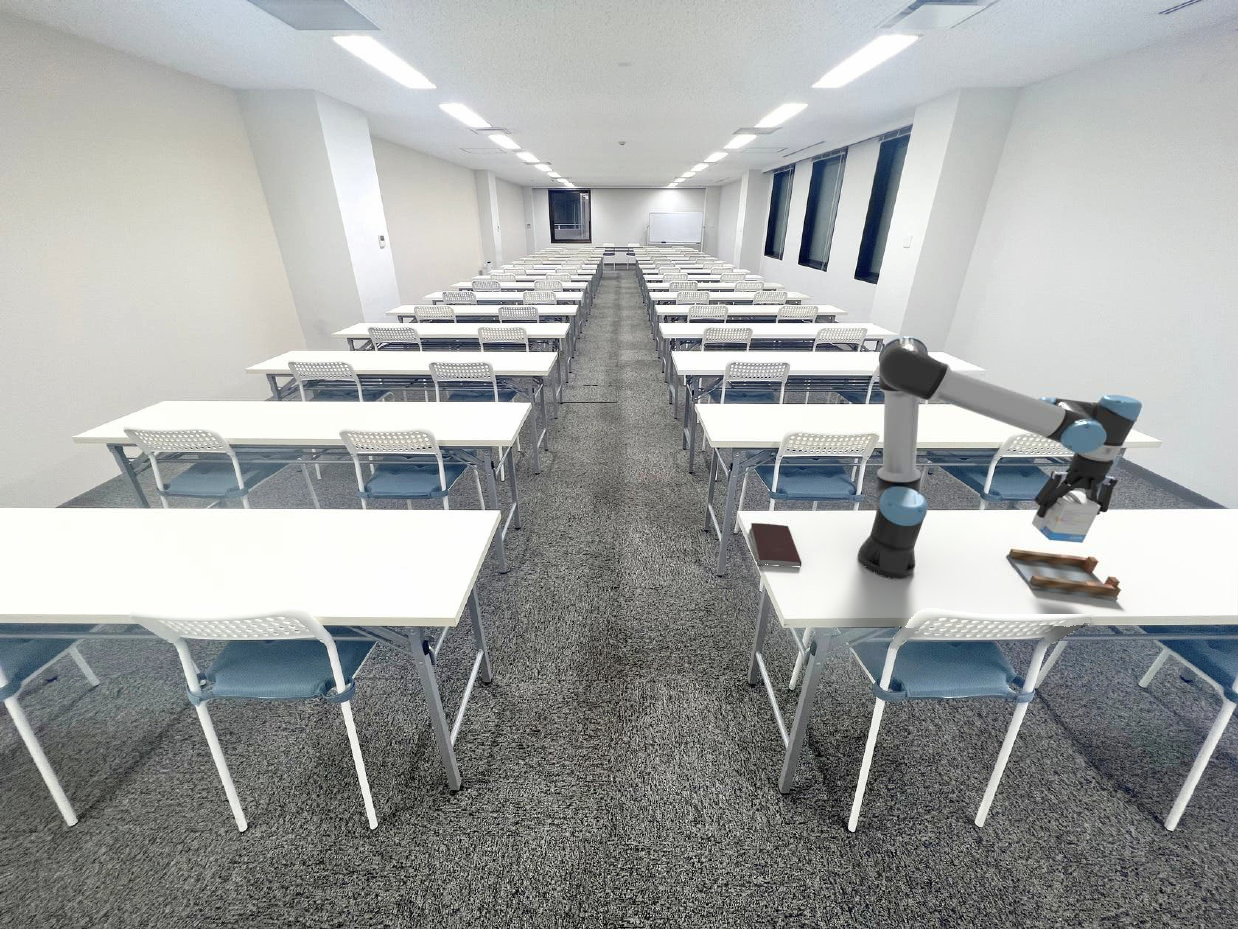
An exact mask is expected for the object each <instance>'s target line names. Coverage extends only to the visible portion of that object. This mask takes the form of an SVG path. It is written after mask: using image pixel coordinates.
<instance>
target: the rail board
mask: <svg viewBox="0 0 1238 929" xmlns="http://www.w3.org/2000/svg"><path fill="white" fill-rule="evenodd" d="M1005 557H1006V558H1007V561H1009V563H1010V564H1011V565H1012V566H1013V568H1014V570H1015V571H1016V572H1017V573H1018V574H1019V576H1021V578H1022V579H1023V580H1024V582H1025V583H1026V584H1027V585H1028V588H1030V589H1031V591H1032V590H1033V591H1040V592H1049V593H1056V594H1061V595H1069V596H1077V597H1083V598H1090V597H1091V599H1098V600H1099V599H1100V600H1105V599H1107V600H1106V601H1112V600H1117V601H1118V599H1119V598H1118V596H1119V594H1120V593H1121V591H1122V589H1121V588H1120V587H1119V584H1120V582H1121V581H1120V580H1119V579H1117V578H1116V577H1115V576H1109V575H1108V577H1107V578H1106V580H1105V581H1104V582H1102V580H1101V579H1100V578H1099V577H1098V576H1096V574H1095V573H1093V572H1094V571H1095V568H1096V566H1097V565H1098V563H1099V560H1098V559H1097V558H1096V557H1094V556H1087V557H1084V556H1077V555H1069V554H1062V553H1059V554H1058V553H1049V552H1041V551H1040V552H1039V551H1032V550H1026V549H1025V550H1023V549H1017V548H1011V549H1010V551H1009V552H1008V554H1006V556H1005Z"/></svg>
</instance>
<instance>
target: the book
mask: <svg viewBox="0 0 1238 929" xmlns="http://www.w3.org/2000/svg"><path fill="white" fill-rule="evenodd" d="M749 533H750V537H751V540H752V544H753V547H754V552H755V555H756V559H757V560H756V561H757V565H758V564H759V566H758V567H762V566H764V565H765V564H766V565H767V564H768V565H779V566H778V567H780V566H800V568H801V567H802V559H801V558H800V554H799V551H798V549H797V546H796V544H795V541H794V539H793V536H792V533H791V530H790V528H789V526H788V525H784V524H783V525H782V524H774V523H773V524H772V523H763V522H762V523H761V522H751V524H750V529H749Z"/></svg>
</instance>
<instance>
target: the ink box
mask: <svg viewBox="0 0 1238 929" xmlns="http://www.w3.org/2000/svg"><path fill="white" fill-rule="evenodd" d="M1039 507H1040V506H1039V505H1038V508H1037V510H1036V512H1035V515H1034V517H1033V519H1032V521H1031V525H1032V526H1033V527H1035V528H1036V529H1037V530H1038V532H1040V534H1042V535H1043V536H1044V537H1045V538H1047V539H1048V541H1057V542H1067V543H1069V542H1070V543H1083V542H1084V540H1085V538H1086V536H1087V534H1088V532H1089V531H1090V528H1091V527H1092V525H1093V523H1094V520H1095V519H1096V516H1098V515H1097V513H1098V511H1099V509H1100V507H1101V506H1100V505H1098V504H1097V503H1096V502H1094V501H1091V500H1090V499H1088V498H1087V497H1086V494H1085V493H1084V492H1083V491H1078V490H1073V491H1069V492H1068V493H1067V494H1066V495H1065V496H1063V497H1062V498H1058V500H1057V502H1056V503H1055V504H1054V505H1053V506H1051V507H1050V508H1051V509H1053V510H1052V512H1051V514H1050V516H1049V518H1048V521H1047V523H1046V525H1045V527H1044V529H1043V530H1042V529H1039V528H1038V527H1037V526H1036V525H1035V522H1036V520H1037V518H1038V515H1037V512H1038V509H1039Z"/></svg>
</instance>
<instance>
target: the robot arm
mask: <svg viewBox="0 0 1238 929" xmlns="http://www.w3.org/2000/svg"><path fill="white" fill-rule="evenodd" d="M878 363H879V368H878V369H879V372H878V373H879V374H878V375H879V376H878V377H879V378H878V388H879V390H880V391H881V392H883V393H884V409H883V410H884V411H883V450H882V467H881V468H879V469H878V470H877V472H876V486H875V492H876V508H875V509H876V510H875V512H876V513H875V517H874V520H873V524H872V528H871V531H870V535H869V536H868V537H867V538H866V539H865V541H864V542H863V543H862V545H861V546H860V547H859V549H858V554H857V558H859V559H858V561H859V560H860V561H859V562H860V564H861V563H862V564H863V565H864V566H866V567H865V569H867V570H868V569H869V570H868V571H870V570H871V571H870V572H871V573H874V572H875V573H874V574H876V573H877V574H876V575H878V576H881V575H882V576H881V577H884V578H888V577H890V578H889V579H894V578H895V579H896V580H897V579H898V580H901V579H906V578H909V577H910V576H912V575H913V573H914V570H915V568H916V556H915V545H916V543H917V541H918V537H919V534H920V531H921V529H922V525H923V523H924V520H925V518H926V516H927V513H928V501H927V498H926V497H924V495H922V494H921V485H922V484H921V483H922V473H921V471H920V470H918V468H916V463H917V447H918V446H917V445H918V444H917V443H918V427H919V426H918V425H919V410H920V409H919V407H920V399H923V400H924V401H930V400H933V399H934V400H938V401H941V402H943V403H947V404H950V405H952V406H956V407H958V408H960V409H963V410H966V411H970V412H972V413H974V414H978V415H981V416H984V417H986V418H989V419H992V420H994V421H998V422H1000V423H1003V424H1007V425H1008V426H1011V427H1015V428H1017V429H1021V430H1023V431H1025V432H1028V433H1032V434H1035V435H1037V436H1041V437H1043V438H1045V439H1047V440H1051V441H1053V442H1056V443H1059V444H1061V445H1062V446H1063V448H1065V449H1067V450H1068V451H1070V452H1073V453H1074V454H1073V456H1072V458H1071V460H1070V462H1069V467H1068V469H1066V470H1064V471H1059V472H1058V471H1057V470H1052V471H1051V473H1050V476H1049V479H1048V480H1047V481H1046V483H1045V484H1044V485H1043V486H1042V488H1041V490H1040V491H1039V492H1038V493H1037V495H1035V497H1034V498H1033V501H1034V502H1035V503H1036V504H1037V505H1038V508H1039V509H1038V508H1037V510H1038V512H1037V511H1036V512H1037V515H1038V518H1037V520H1036V522H1035V525H1036V526H1037V527H1038V528H1039V529H1042V530H1043V529H1044V527H1045V525H1046V523H1047V521H1048V518H1049V516H1050V514H1051V512H1052V510H1053V509H1051V508H1050V507H1051V506H1053V505H1054V504H1055V503H1056V502H1057V500H1058V498H1062V497H1063V496H1065V495H1066V494H1067V493H1068V492H1069V491H1075V490H1076V489H1083V490H1084V492H1085V493H1084V494H1085V495H1086V497H1087V498H1088V499H1090V500H1091V501H1094V502H1096V503H1097V504H1098V505H1100V506H1101V507H1100V509H1099V511H1098V513H1097V515H1096V516H1099V515H1100V514H1101V513H1106V512H1108V509H1109V506H1110V503H1111V499H1112V498H1111V497H1112V495H1113V490H1114V488H1115V486H1116V485H1117V483H1118V482H1119V480H1118V479H1117V478H1115V477H1114V476H1112V475H1107V474H1108V473H1109V472H1110V470H1111V469H1112V466H1113V465H1114V462H1115V461H1114V460H1116V458H1117V457H1118V455H1119V453H1120V451H1121V449H1122V448H1123V445H1124V443H1125V441H1126V439H1127V437H1128V435H1129V433H1130V432H1131V430H1132V428H1133V426H1134V424H1135V423H1136V422H1137V421H1138V417H1139V415H1140V412H1141V410H1142V408H1143V403H1142V402H1141V401H1140V400H1138V399H1136V398H1133V397H1129V396H1124V395H1119V394H1118V395H1117V394H1105V395H1103V396H1102V397H1101V398H1100V399H1099V400H1098V402H1091V401H1081V400H1074V399H1066V398H1058V397H1046V396H1044V397H1039V398H1034V397H1032V396H1029V395H1025V394H1023V393H1020V392H1016V391H1014V390H1011V389H1008V388H1006V387H1002V386H999V385H996V384H994V383H990V382H987V381H984V380H981V379H978V378H975V377H972V376H969V375H966V374H964V373H961V372H957V371H955V370H952V369H951V367H950V364H948V363H945V362H942V361H939V360H937V359H935V358H934V357H931V356H930V355H929V351H928V348H927V346H926V344H925V343H924V342H923V341H921V340H920V339H918V338H916V337H914V336H908V335H907V336H904V335H903V336H899V337H896V338H894V339H892V340H890V341H888V342H887V343H886V344H885V345H884V346H883V347H882V349H881V350H880V352H879V356H878ZM1064 478H1065V479H1064ZM1100 483H1101V485H1100V488H1099V493H1098V494H1097V492H1098V485H1099V484H1100ZM1039 506H1040V507H1039ZM862 564H861V565H862ZM863 565H862V566H863ZM864 566H863V567H864ZM895 579H894V580H895Z"/></svg>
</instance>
